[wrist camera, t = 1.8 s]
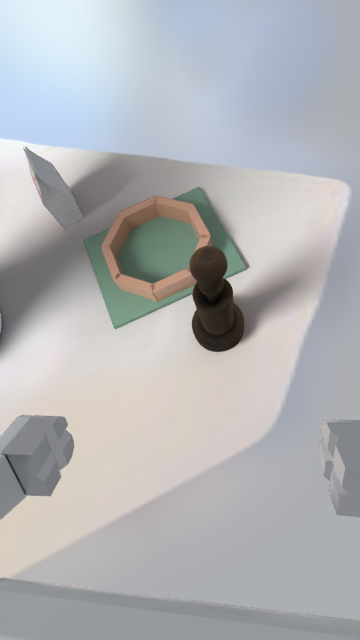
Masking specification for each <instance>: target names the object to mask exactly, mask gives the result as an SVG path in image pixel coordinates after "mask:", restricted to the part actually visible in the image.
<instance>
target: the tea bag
mask: <svg viewBox="0 0 360 640" xmlns="http://www.w3.org/2000/svg"><path fill="white" fill-rule="evenodd" d="M23 149H24V148H23ZM24 151H25V154H26V156H27V159H28V163H29V168H30V172H31V176H32V178H33V181H34V183H35V186H36V188H37V191H38V193H39V195H40V198H41V200H42V203H43V205H44V206H45V207H46V208H47V209H48V211H49V212H50V213H51V214H52V215H53V216H54V217H55V219H56V220H57V221H58V222H59V223H60V224H61V226H62V227H63V228H64V229H65V228H67V227H69V226H71V225H72V224H74V223H76V222H78V221H80V220H82V219H84V217H83V215H82V213H81V211H80V209H79V207H78V204H77V202H76V200H75V198H74V196H73V194H72V192H71V190H70V189H69V187H68V186H67V184H66V183H65V182H64V180H63V179H62V177H61V176H60V174H59V173H58V172H57V170H56V169H55V167H54V166H53V164H52V163H50V162H48V161H47V160H45V159H43V158H41V157H40V156H38V155H36V154H35V153H33V152H32V151H30V150H29V149H28V148H27V147H26V146H25V149H24Z"/></svg>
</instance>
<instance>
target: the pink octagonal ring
mask: <svg viewBox="0 0 360 640" xmlns="http://www.w3.org/2000/svg"><path fill="white" fill-rule="evenodd" d="M119 213H120V214H119ZM119 213H118V215H117V217H116V219H115V221H114V223H113V225H112V226H111V228H110V230H109V232H108V234H107V236H106V238H105V240H104V242H103V243H102V245H101V249H102V251H103V254H104V257H105V259H106V262H107V265H108V268H109V270H110V273H111V276H112V278H113V280H114V282H115V283H116V284H117V285H118V286H119V288H120V289H121V290H123V291H127V292H130V293H133V294H136V295H139V296H142V297H145V298H148V299H151V300H154V301H157V302H159V301H161V300H163V299H165V298H167V297H170V296H172V295H174V294H176V293H178V292H181V291H183V290H185V289H187V288H189V287H192V286H194V285H195V284H196V283H197V282H198V281H197V280H195V279H194V277H193V276H192V274H191V272H190V267H189V266H188V268H186V269H184V270H182V271H180V272H178V273H175V274H173V275H171V276H169V277H167V278H165V279H162V280H160V281H158V282H156V283H154V284H152V283H148V282H145V281H142V280H139V279H135V278H132V277H129V276H126V275H124V273H123V270H122V268H121V265H120V263H119V260H118V258H117V256H118V254H119V252H120V250H121V248H122V246H123V245H124V243H125V241H126V239H127V237H128V235H129V233H130V231H131V230H132V229H134V228H136V227H138V226H140V225H143V224H145V223H147V222H149V221H151V220H153V219H155V218H158V217H160V216H161V217H165V218H169V219H173V220H177V221H182V222H186V223H190V225H191V227H192V229H193V231H194V232H195V234H196V236H197V238H198V240H199V243H198V245H197V247H196V249H195V251H196V250H197V249H199V248H201V247H203V246H212V243H211V235H210V233H209V231H208V230H207V228H206V226H205V224H204V222H203V221H202V219H201V217H200V215H199V213H198V212H197V210H196V208H195V206H194V205H193V204H191V203H187V202H182V201H177V200H173V199H168V198H164V197H159V196H156V197H155V196H154V197H152V198H150V199H147V200H145V201H143V202H141V203H139V204H137V205H134V206H132V207H130V208H128V209H126V210H124V211H122V212H119ZM189 265H190V263H189Z"/></svg>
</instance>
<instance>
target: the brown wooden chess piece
mask: <svg viewBox="0 0 360 640" xmlns="http://www.w3.org/2000/svg"><path fill="white" fill-rule="evenodd" d="M227 266H228V263H227V259H226V256H225V254H224V253H223V252H222V251H221V250H220V249H219V248H217V247H215V246H203V247H201V248H199V249H197V250H196V251H195V252H194V253H193V255H192V257H191V259H190V265H189V267H190V272H191V274H192V276H193V277H194V279H195V280H197V281H198V282H197V283H196V284H195V286H194V288H193V300H194V302H195V305H196V308H197V310H196V312H195V313H194V316H193V320H192V329H193V332H194V335H195V337H196V339H197V341H198V342H199V344H200V345H201V346H203V347H204V348H206V349H207V350H210V351H214V352H222V351H226V350H229V349H231V348H232V347H234V346H235V345H236V344H237V343H238V342H239V341H240V339H241V337H242V334H243V330H244V319H243V315H242V312H241V310H240V309H239V308H238V306H237V305H236V304H234V303H233V290H232V287H231V285H230V283H229V282H228V281H227V280H226V279H224V278H223V277H224V275H225V273H226V271H227Z"/></svg>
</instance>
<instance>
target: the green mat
mask: <svg viewBox="0 0 360 640" xmlns="http://www.w3.org/2000/svg"><path fill="white" fill-rule="evenodd" d="M173 200H177V201H182V202H187V203H191V204H193V205H194V206H195V208H196V210H197V212H198V213H199V215H200V217H201V219H202V221H203V222H204V224H205V226H206V228H207V230H208V231H209V233H210V235H211V243H212V246H215V247H217V248H219V249H220V250H221V251H222V252H223V253H224V254H225V256H226V259H227V263H228V266H227V271H226V273H225V275H224V277H223V278H224V279H226V278H228V277H231V276H233V275H235V274H237V273H239V272H242V271H244V270H246V266H245V264H244V263H243V261H242V259H241V257H240V256H239V254H238V252H237V251H236V249H235V247H234V245H233V244H232V242H231V240H230V239H229V237H228V235H227V233H226V232H225V230H224V228H223V227H222V225H221V223H220V221H219V220H218V218H217V216H216V215H215V213H214V211H213V210H212V208H211V206H210V204H209V203H208V201H207V199H206V198H205V196H204V194H203V192H202V191H201V189H200V187H198V188H196V189H194V190H191V191H189V192H187V193H185V194H183V195H181V196H179V197H176V198H174V199H173ZM109 230H110V229H107V230H105V231H103V232H101V233H99V234H97V235H94V236H92V237H90V238H88V239H86V240H84V243H85V246H86V249H87V251H88V254H89V257H90V260H91V263H92V266H93V269H94V272H95V275H96V277H97V280H98V283H99V286H100V289H101V292H102V295H103V298H104V301H105V304H106V306H107V309H108V312H109V315H110V318H111V321H112V324H113V327H114V328H115V329H117V328H119V327H121V326H123V325H125V324H127V323H130V322H132V321H134V320H136V319H138V318H141V317H143V316H145V315H147V314H149V313H152V312H154V311H156V310H158V309H160V308H163V307H165V306H167V305H169V304H171V303H174V302H176V301H178V300H180V299H182V298H185V297H187V296H189V295H191V294H193V288H194V286H195V285H194V286H192V287H189V288H187V289H185V290H183V291H181V292H178V293H176V294H174V295H172V296H170V297H167V298H165V299H163V300H161V301H159V302H157V301H154V300H151V299H148V298H145V297H142V296H139V295H136V294H133V293H130V292H127V291H123V290H121V289H120V288H119V286H118V285H117V284H116V283H115V282H114V280H113V278H112V276H111V273H110V270H109V268H108V265H107V262H106V259H105V257H104V254H103V251H102V249H101V245H102V243H103V242H104V240H105V238H106V236H107V234H108V232H109ZM198 243H199V240H198V238H197V236H196V234H195V232H194V231H193V229H192V227H191V225H190V223H186V222H182V221H177V220H173V219H169V218H165V217H161V216H160V217H158V218H155V219H153V220H151V221H149V222H147V223H145V224H143V225H140V226H138V227H136V228H134V229H132V230H131V231H130V233H129V235H128V237H127V239H126V241H125V243H124V245H123V246H122V248H121V250H120V252H119V254H118V256H117V258H118V260H119V263H120V265H121V268H122V270H123V273H124V275H126V276H129V277H132V278H135V279H139V280H142V281H145V282H148V283H152V284H154V283H156V282H158V281H160V280H162V279H165V278H167V277H169V276H171V275H173V274H175V273H178V272H180V271H182V270H184V269H186V268H188V266H189V263H190V259H191V257H192V255H193V253H194V252H195V249H196V247H197V245H198Z"/></svg>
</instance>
